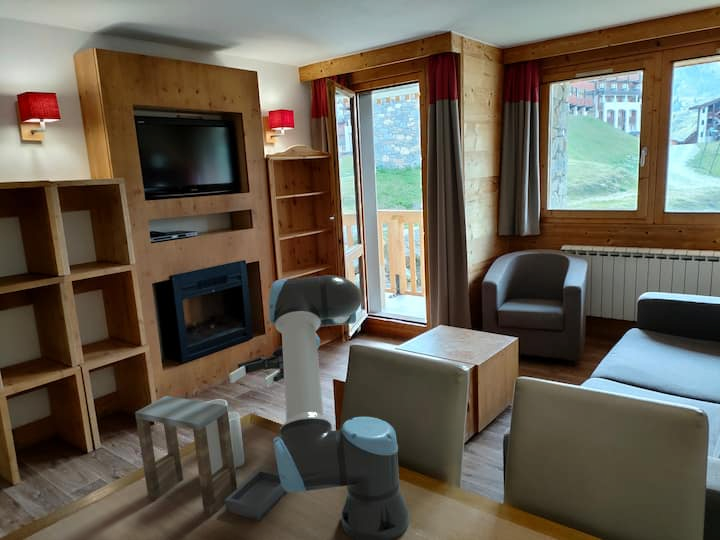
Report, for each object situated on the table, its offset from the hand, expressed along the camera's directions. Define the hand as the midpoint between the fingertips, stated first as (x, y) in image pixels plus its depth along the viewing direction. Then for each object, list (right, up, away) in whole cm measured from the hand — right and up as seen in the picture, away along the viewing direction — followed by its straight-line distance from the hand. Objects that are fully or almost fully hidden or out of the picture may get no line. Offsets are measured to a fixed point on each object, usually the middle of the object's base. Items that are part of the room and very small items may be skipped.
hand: (248, 381), depth 152 cm
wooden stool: (-10, -25, -19) cm, 33 cm away
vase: (-4, -23, -8) cm, 24 cm away
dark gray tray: (+8, -24, -22) cm, 34 cm away
